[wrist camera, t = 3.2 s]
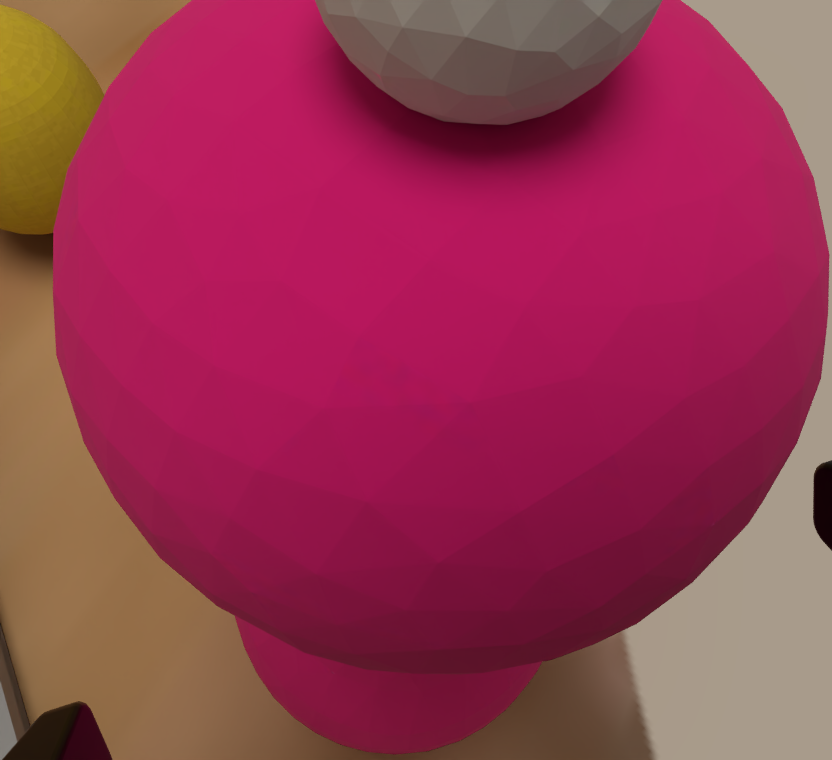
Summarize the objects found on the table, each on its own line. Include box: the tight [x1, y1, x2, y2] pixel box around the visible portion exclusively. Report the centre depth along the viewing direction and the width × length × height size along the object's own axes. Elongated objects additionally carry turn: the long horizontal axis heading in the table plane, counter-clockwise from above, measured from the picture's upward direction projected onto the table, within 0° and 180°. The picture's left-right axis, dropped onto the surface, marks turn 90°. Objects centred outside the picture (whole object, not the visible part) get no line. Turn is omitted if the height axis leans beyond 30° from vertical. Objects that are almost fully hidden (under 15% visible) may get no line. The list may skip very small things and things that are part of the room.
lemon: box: [0, 5, 104, 234], centre depth 22 cm, size 6×6×8 cm
